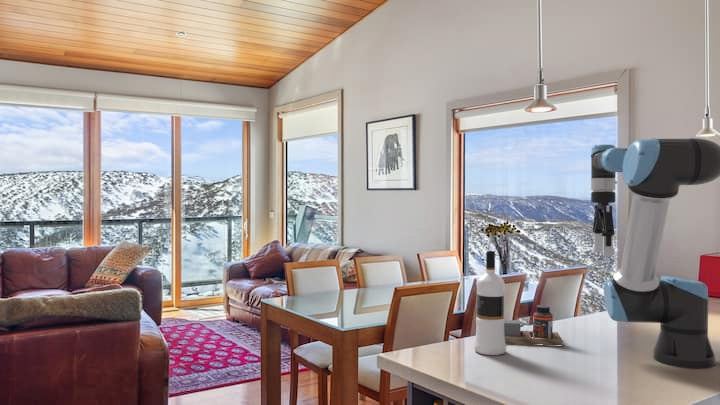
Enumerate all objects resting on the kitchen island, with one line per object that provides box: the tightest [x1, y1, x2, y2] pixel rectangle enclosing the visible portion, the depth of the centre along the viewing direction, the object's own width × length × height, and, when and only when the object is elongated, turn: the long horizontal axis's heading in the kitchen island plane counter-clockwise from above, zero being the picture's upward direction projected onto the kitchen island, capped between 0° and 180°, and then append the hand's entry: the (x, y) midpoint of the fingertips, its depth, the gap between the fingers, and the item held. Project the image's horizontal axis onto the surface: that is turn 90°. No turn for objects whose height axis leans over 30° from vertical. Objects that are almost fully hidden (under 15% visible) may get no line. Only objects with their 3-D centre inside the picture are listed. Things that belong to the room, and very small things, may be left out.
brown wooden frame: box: [505, 330, 563, 346], centre depth 184 cm, size 20×10×2 cm, turn 79°
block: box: [504, 319, 521, 337], centre depth 185 cm, size 5×5×6 cm
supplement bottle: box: [532, 304, 554, 338], centre depth 184 cm, size 6×6×11 cm
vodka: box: [473, 250, 507, 357], centre depth 171 cm, size 9×9×30 cm
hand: (602, 254), depth 194 cm, fingers open, 13 cm apart
